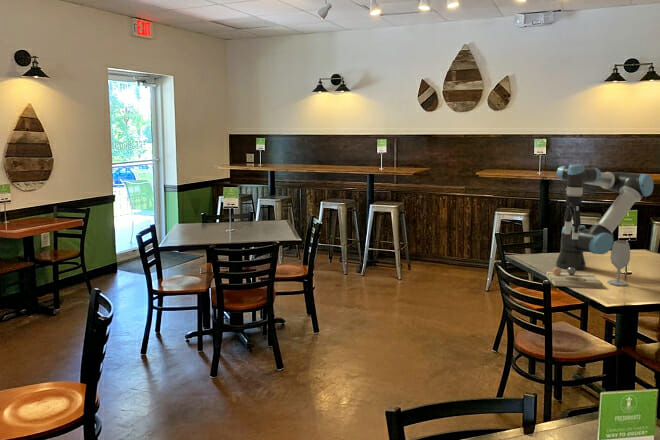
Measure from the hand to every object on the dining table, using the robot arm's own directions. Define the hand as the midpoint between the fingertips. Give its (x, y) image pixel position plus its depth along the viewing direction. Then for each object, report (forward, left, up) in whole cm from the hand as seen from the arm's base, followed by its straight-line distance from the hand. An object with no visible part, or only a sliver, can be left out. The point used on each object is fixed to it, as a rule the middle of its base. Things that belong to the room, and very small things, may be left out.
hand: (571, 236), depth 296 cm
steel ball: (+8, -1, -16) cm, 18 cm away
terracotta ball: (+10, -8, -16) cm, 20 cm away
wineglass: (+12, +20, -21) cm, 31 cm away
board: (+13, -1, -21) cm, 24 cm away
